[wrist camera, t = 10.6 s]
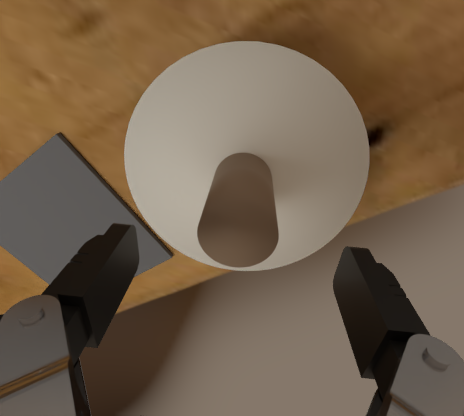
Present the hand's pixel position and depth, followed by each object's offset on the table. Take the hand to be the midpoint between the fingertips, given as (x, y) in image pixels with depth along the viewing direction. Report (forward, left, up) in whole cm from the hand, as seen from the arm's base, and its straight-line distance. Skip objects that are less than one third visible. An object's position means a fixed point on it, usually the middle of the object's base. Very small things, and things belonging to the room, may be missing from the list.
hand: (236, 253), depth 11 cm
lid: (0, 0, -9) cm, 9 cm away
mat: (+12, -18, -15) cm, 27 cm away
